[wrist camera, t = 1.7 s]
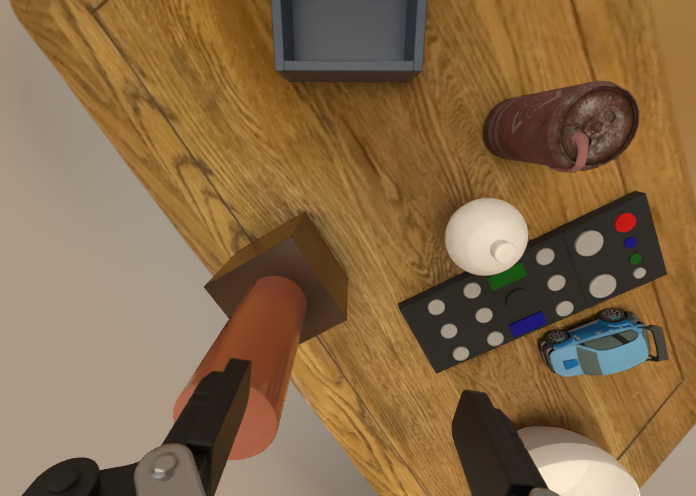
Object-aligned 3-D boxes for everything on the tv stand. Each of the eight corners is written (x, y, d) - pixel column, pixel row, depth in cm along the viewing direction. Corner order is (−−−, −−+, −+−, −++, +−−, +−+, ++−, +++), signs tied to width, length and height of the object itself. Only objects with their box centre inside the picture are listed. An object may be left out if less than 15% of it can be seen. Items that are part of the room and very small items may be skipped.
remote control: (656, 269, 42) (671, 276, 40) (433, 366, 47) (437, 376, 45) (634, 191, 39) (649, 194, 37) (398, 303, 44) (400, 311, 42)
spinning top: (451, 175, 38) (493, 193, 27) (507, 204, 39) (571, 234, 28) (418, 233, 40) (444, 272, 29) (471, 259, 41) (517, 307, 30)
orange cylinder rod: (248, 330, 33) (181, 460, 20) (242, 275, 32) (164, 379, 18) (308, 330, 33) (280, 461, 20) (306, 275, 31) (273, 380, 18)
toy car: (532, 335, 45) (557, 363, 40) (624, 301, 43) (663, 324, 38) (544, 368, 47) (569, 398, 41) (632, 336, 45) (671, 364, 40)
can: (475, 157, 37) (543, 171, 24) (488, 95, 35) (571, 74, 22) (528, 162, 38) (625, 180, 24) (545, 101, 36) (660, 84, 22)
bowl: (577, 496, 55) (617, 561, 47) (462, 493, 55) (482, 557, 47) (609, 406, 49) (662, 461, 41) (480, 402, 49) (506, 457, 40)
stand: (237, 251, 41) (203, 287, 32) (305, 211, 40) (290, 236, 30) (282, 313, 44) (263, 362, 35) (347, 278, 42) (347, 320, 33)
